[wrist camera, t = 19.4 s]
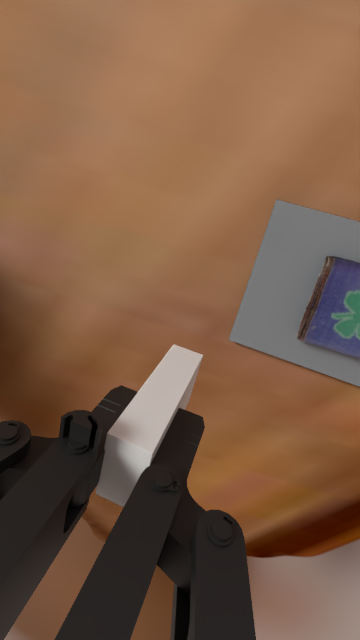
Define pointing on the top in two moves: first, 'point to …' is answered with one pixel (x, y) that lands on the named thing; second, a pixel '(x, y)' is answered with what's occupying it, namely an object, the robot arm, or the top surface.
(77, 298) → the top surface
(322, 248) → the slate board
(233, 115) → the top surface
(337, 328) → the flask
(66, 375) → the top surface
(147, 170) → the top surface
